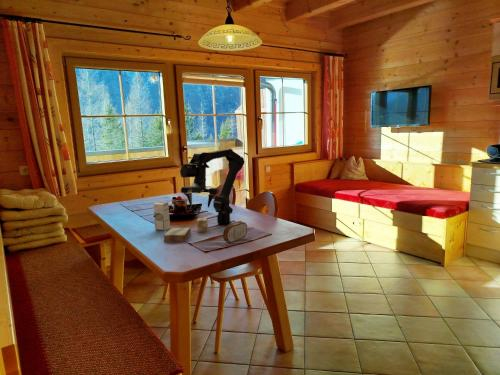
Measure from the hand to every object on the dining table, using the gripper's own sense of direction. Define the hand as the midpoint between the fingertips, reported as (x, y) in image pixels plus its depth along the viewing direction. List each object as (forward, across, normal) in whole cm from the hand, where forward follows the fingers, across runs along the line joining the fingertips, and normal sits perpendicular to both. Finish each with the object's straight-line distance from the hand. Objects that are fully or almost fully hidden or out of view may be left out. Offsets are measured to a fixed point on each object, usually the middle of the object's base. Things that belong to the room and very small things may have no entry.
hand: (199, 206), depth 177 cm
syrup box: (+14, -21, +2) cm, 25 cm away
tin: (+13, +22, -14) cm, 29 cm away
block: (+12, +2, +1) cm, 13 cm away
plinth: (+14, -8, -12) cm, 20 cm away
